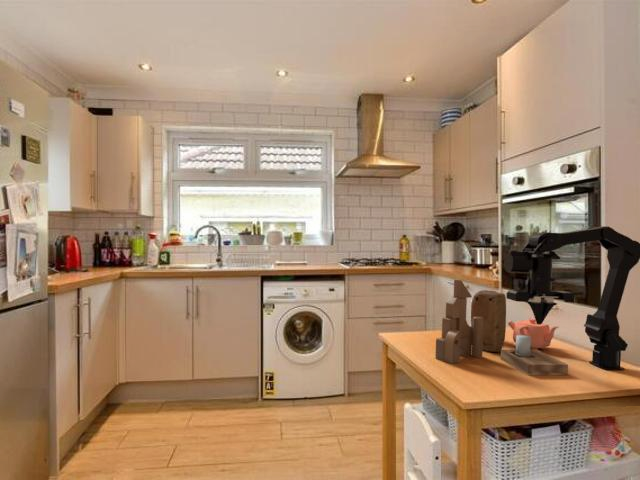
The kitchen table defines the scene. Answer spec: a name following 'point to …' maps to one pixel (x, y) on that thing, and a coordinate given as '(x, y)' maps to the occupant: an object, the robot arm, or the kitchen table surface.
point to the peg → (523, 346)
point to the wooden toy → (459, 329)
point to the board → (535, 363)
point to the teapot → (533, 332)
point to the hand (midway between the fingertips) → (539, 324)
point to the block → (490, 318)
